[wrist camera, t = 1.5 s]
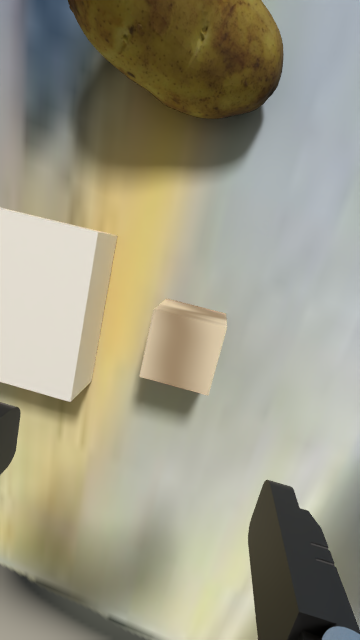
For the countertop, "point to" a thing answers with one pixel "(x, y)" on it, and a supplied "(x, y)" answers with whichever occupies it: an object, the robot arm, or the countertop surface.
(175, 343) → the birch block
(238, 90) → the potato
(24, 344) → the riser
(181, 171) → the countertop surface
